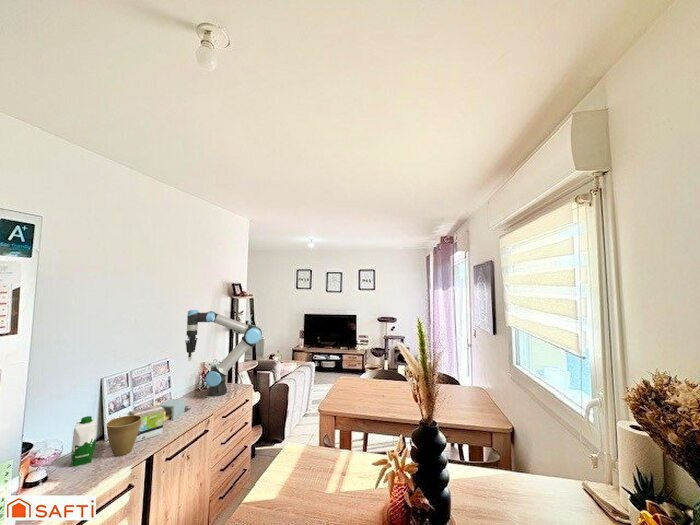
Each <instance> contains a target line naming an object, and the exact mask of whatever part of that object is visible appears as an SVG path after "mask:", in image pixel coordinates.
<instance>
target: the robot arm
mask: <svg viewBox="0 0 700 525" xmlns="http://www.w3.org/2000/svg"><path fill="white" fill-rule="evenodd" d="M186 318H187V319H186V336H187V339H185V341H184V342H185V348H186V353H187V354H188V356H187V358H188V360H187V362H193V360H194V353H195V351H196V349H197V348H196V347H197V342H198V340H199V339H198V337H196V336H197V335H198V327H199V323H214V324H217V325H220V326H222V327H225V328H228V329H230V330H233V331H236V332H239V333H241V334H242V335H243V336H242V337H241V340H240V341H239V342H238V344H237V345H236V346H235V347H234V348H233V349H232V350H231V351H230V352H229V353H228V354H227V355H226V357H224V359H223V360H222V361H221V362H220V363H218V364H217V363H216V364H211V366H210V370H209V372H208V373H206V375H205V377H204V381H205V384H206V385H207V386H208V389H207V390H206V391H207V392H206V395H207V396H208V397H219V396H224V395H226V394H227V393H228V387H227V384H226V379H227V378H226V377H227V375H228V372H229V371H230V370H231V368H232V367H233V366H234V365H235V364H236V363H237V362H238V361H239V360H240V359H241V357H242V356H243V355H244V354H245V353H246V352H247V351H248V350H249V349H250V348H251V349H252V348H253V347H254V346H256V344H257V343H259V342H260V340H261V338H262V336H263V332H262V329H261V328H260V327H258V326H255V325H252V324H245V323H243V322H240V321H238V320H235V319H232V318H230V317H227V316H224V315H221V314H219V313H216V311H212V310H210V311H207V312H200V311H199V310H198V309H189V310H188V311H187V315H186Z"/></svg>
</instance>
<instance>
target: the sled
mask: <svg viewBox="0 0 700 525" xmlns="http://www.w3.org/2000/svg"><path fill="white" fill-rule="evenodd" d="M165 414H166V411H164V420H163V423H165V422H166V421H168V420H169V419H168V418H170V417H171V418H172V412H171V413H170V414H168V415H166V416H165ZM171 418H170V419H171ZM167 419H168V420H167ZM165 420H166V421H165ZM164 421H165V422H164Z"/></svg>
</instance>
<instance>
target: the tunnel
mask: <svg viewBox="0 0 700 525" xmlns="http://www.w3.org/2000/svg"><path fill="white" fill-rule="evenodd" d="M158 405H159V406H161V407H162V408H164V411H166V414H165V416H166V415H168V414H170V413H171V412H172V417H170V418H168V419H167V420H165V421H164V422H163V423H165V422H166V421H168V420H170V419H171V420H170V421H175V420H177V419H178V418H179V417H181V416H183V415H184V414H186V413H187V412H188V411H190V410H191V409H192V408H191V407H190V406H189V405H186V399H181V398H180V399H179V398H169V399H168V400H166V401H165V402H163V403H160V404H158Z"/></svg>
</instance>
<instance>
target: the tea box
mask: <svg viewBox="0 0 700 525" xmlns="http://www.w3.org/2000/svg"><path fill="white" fill-rule="evenodd" d="M159 405H160V404H156V405H151V406H148V407H143V408H140V409H135V410H131V411H129V415H128V416H130V415H138V416H141V417H142V419H141V424H140V428H139V431H138V435H137V438H136V440H135V443H137V442H139V441H144V440H146V439H150V438H153V437H156V436H159V435H160V436H161V435H162V434H163V433H164V432H163V431H164V422H163V420H164V408H162V407H161V406H159Z"/></svg>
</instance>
